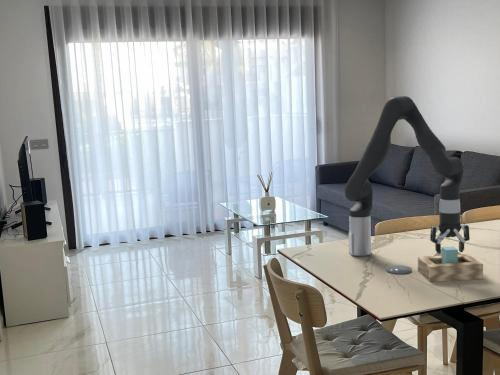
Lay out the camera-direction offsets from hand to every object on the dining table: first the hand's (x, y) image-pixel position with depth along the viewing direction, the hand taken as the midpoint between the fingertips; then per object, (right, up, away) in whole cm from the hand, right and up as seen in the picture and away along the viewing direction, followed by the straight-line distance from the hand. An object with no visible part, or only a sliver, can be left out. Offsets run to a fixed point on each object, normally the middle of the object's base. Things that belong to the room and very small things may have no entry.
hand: (449, 252), depth 224 cm
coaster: (-17, -8, +10) cm, 21 cm away
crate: (0, -9, +2) cm, 9 cm away
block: (0, -6, +1) cm, 6 cm away
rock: (+7, -6, +21) cm, 23 cm away
